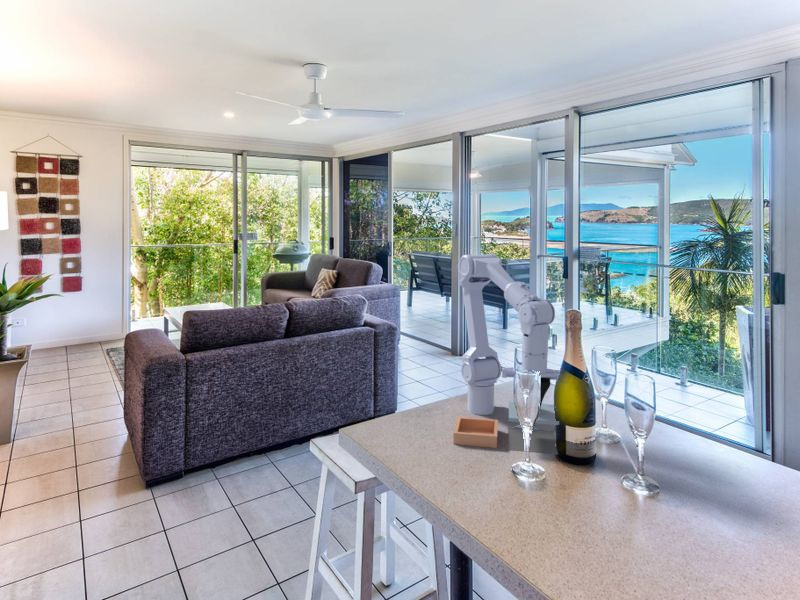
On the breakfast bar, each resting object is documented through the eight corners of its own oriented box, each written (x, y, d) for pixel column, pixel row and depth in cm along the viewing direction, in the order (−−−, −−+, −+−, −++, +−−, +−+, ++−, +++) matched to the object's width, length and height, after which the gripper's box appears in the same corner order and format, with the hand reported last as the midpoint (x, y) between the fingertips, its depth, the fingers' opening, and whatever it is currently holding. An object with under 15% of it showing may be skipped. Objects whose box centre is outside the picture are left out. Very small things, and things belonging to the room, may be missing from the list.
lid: (508, 404, 123) (509, 389, 122) (554, 407, 121) (555, 392, 120) (508, 421, 112) (509, 405, 112) (559, 425, 110) (559, 408, 109)
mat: (507, 430, 125) (508, 427, 125) (553, 433, 123) (553, 430, 123) (507, 453, 112) (507, 449, 112) (558, 457, 110) (558, 454, 110)
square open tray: (457, 429, 125) (457, 416, 125) (497, 433, 123) (498, 420, 123) (453, 447, 116) (453, 432, 115) (496, 451, 113) (497, 436, 113)
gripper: (502, 354, 112) (501, 411, 114) (569, 358, 109) (566, 416, 111) (503, 347, 119) (501, 401, 121) (566, 350, 116) (563, 405, 118)
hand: (532, 407), depth 116 cm, fingers closed on lid, 2 cm apart
